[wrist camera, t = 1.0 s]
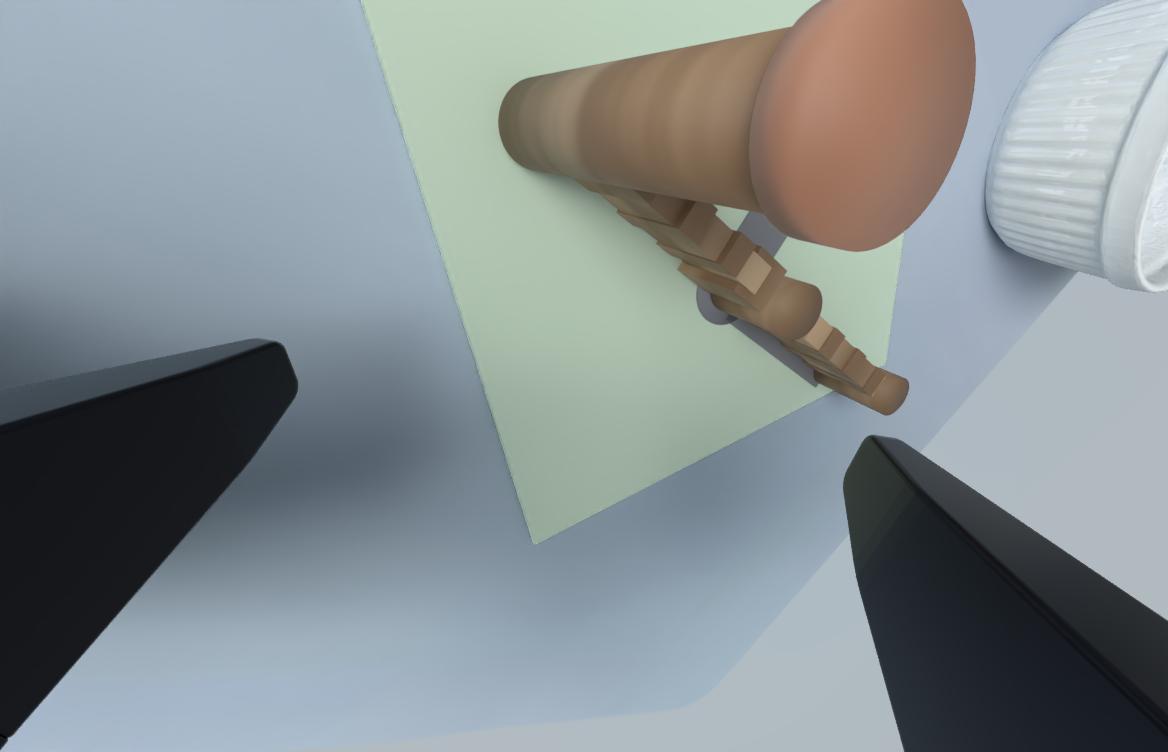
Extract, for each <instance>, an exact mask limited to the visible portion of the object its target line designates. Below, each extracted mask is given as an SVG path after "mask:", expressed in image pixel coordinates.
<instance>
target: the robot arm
mask: <svg viewBox="0 0 1168 752" xmlns="http://www.w3.org/2000/svg"><path fill="white" fill-rule="evenodd" d="M297 391H298V380H297V377H296V375H295V372H294V369H293V367H292V364H291V362H290V359H289V357H288V354H287V352H286V349H285V347H284V346H283V345H282V344H281V343H279V342H277V341H272V340H266V339H259V338H256V339H248V340H243V341H238V342H234V343H229V344H224V345H219V346H214V347H209V348H205V349H200V350H195V351H190V352H185V353H180V354H176V355H171V356H166V357H161V358H156V359H151V360H147V361H142V362H137V363H132V364H127V365H122V366H118V367H113V368H108V369H103V370H98V371H93V372H89V373H84V374H79V375H74V376H69V377H64V378H60V379H55V380H50V381H45V382H40V383H35V384H31V385H26V386H21V387H16V388H11V389H6V390H2V391H0V750H1V749H2V748H3V746H4V745H5V744H6V743H7V741H8V738H9V737H11V736H13V735H14V733H15V732H16V731H17V730H18V729H19V728H20V727H21V725H22V724H23V723H24V722H25V721H26V720H27V719H28V717H29V716H30V715H31V714H32V713H33V712H34V710H35V709H36V708H37V707H38V706H39V705H40V704H41V702H42V701H43V700H44V699H45V698H46V697H47V695H48V694H49V693H50V692H51V691H52V690H53V689H54V687H55V686H56V685H57V684H58V683H59V682H60V681H61V679H62V678H63V677H64V676H65V675H66V674H67V672H68V671H69V670H70V669H71V668H72V667H73V666H74V664H75V663H76V662H77V661H78V660H79V659H80V657H81V656H82V655H83V654H84V653H85V652H86V651H87V649H88V648H89V647H90V646H91V645H92V644H93V643H94V641H95V640H96V639H97V638H98V637H99V636H100V634H101V633H102V632H103V631H104V630H105V629H106V628H107V626H108V625H109V624H110V623H111V622H112V621H113V619H114V618H115V617H116V616H117V615H118V614H119V613H120V611H121V610H122V609H123V608H124V607H125V606H126V605H127V603H128V602H129V601H130V600H131V599H132V598H133V596H134V595H135V594H136V593H137V592H138V591H139V590H140V588H141V587H142V586H143V585H144V584H145V583H146V581H147V580H148V579H149V578H150V577H151V576H152V575H153V573H154V572H155V571H156V570H157V569H158V568H159V567H160V565H161V564H162V563H163V562H164V561H165V560H166V558H167V557H168V556H169V555H170V554H171V553H172V552H173V550H174V549H175V548H176V547H177V546H178V545H179V543H180V542H181V541H182V540H183V539H184V538H185V537H186V535H187V534H188V533H189V532H190V531H191V530H192V529H193V527H194V526H195V525H196V524H197V523H198V522H199V520H200V519H201V518H202V517H203V516H204V515H205V514H206V512H207V511H208V510H209V509H210V508H211V507H212V505H213V504H214V503H215V502H216V501H217V500H218V499H219V497H220V496H221V495H222V494H223V493H224V492H225V491H226V489H227V488H228V487H229V486H230V485H231V484H232V482H233V481H234V480H235V479H236V478H237V477H238V476H239V474H240V473H241V472H242V471H243V470H244V468H245V467H246V466H247V465H248V463H249V462H250V461H251V459H252V458H253V457H254V455H255V454H256V453H257V451H258V450H259V448H260V447H261V446H262V444H263V443H264V441H265V440H266V438H267V437H268V436H269V434H270V433H271V431H272V430H273V428H274V427H275V426H276V424H277V423H278V421H279V420H280V418H281V417H282V416H283V414H284V413H285V411H286V410H287V408H288V407H289V406H290V404H291V403H292V401H293V400H294V398H295V397H296V394H297ZM843 492H844V499H845V506H846V513H847V520H848V527H849V534H850V541H851V548H852V554H853V561H854V567H855V573H856V578H857V582H858V586H859V590H860V594H861V598H862V601H863V605H864V608H865V612H866V615H867V619H868V623H869V626H870V630H871V634H872V637H873V641H874V644H875V648H876V652H877V655H878V658H879V662H880V666H881V669H882V673H883V677H884V680H885V684H886V688H887V691H888V695H889V698H890V702H891V705H892V709H893V712H894V716H895V720H896V724H897V727H898V731H899V734H900V738H901V741H902V745H903V749H904V752H1168V621H1167V620H1166V619H1164V618H1163V617H1162V616H1160V615H1159V614H1157V613H1156V612H1154V611H1153V610H1151V609H1150V608H1148V607H1147V606H1145V605H1144V604H1142V603H1141V602H1139V601H1138V600H1136V599H1135V598H1133V597H1132V596H1130V595H1129V594H1128V593H1126V592H1125V591H1123V590H1122V589H1120V588H1119V587H1117V586H1116V585H1114V584H1113V583H1111V582H1110V581H1108V580H1107V579H1105V578H1104V577H1102V576H1101V575H1099V574H1098V573H1096V572H1095V571H1093V570H1092V569H1091V568H1089V567H1088V566H1086V565H1085V564H1083V563H1082V562H1080V561H1079V560H1077V559H1076V558H1074V557H1073V556H1071V555H1070V554H1068V553H1067V552H1065V551H1064V550H1062V549H1061V548H1059V547H1058V546H1057V545H1055V544H1053V543H1052V542H1051V541H1049V540H1048V539H1046V538H1045V537H1043V536H1042V535H1040V534H1039V533H1037V532H1036V531H1034V530H1033V529H1031V528H1030V527H1028V526H1027V525H1025V524H1024V523H1022V522H1021V521H1020V520H1018V519H1017V518H1015V517H1014V516H1012V515H1011V514H1009V513H1008V512H1006V511H1005V510H1003V509H1002V508H1000V507H999V506H997V505H996V504H994V503H993V502H991V501H990V500H988V499H987V498H986V497H984V496H983V495H981V494H980V493H978V492H977V491H975V490H974V489H972V488H971V487H969V486H968V485H966V484H965V483H963V482H962V481H960V480H959V479H957V478H956V477H954V476H953V475H952V474H950V473H949V472H947V471H946V470H944V469H942V468H941V467H940V466H938V465H937V464H935V463H934V462H932V461H931V460H929V459H928V458H926V457H925V456H923V455H922V454H920V453H919V452H918V451H916V450H915V449H913V448H912V447H910V446H909V445H907V444H906V443H904V442H903V441H901V440H899V439H896V438H890V437H884V436H877V435H870V436H868V437H866V438H865V439H864V441H863V442H862V444H861V446H860V447H859V449H858V451H857V453H856V455H855V456H854V458H853V460H852V462H851V464H850V466H849V467H848V469H847V471H846V473H845V477H844V482H843Z"/></svg>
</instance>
